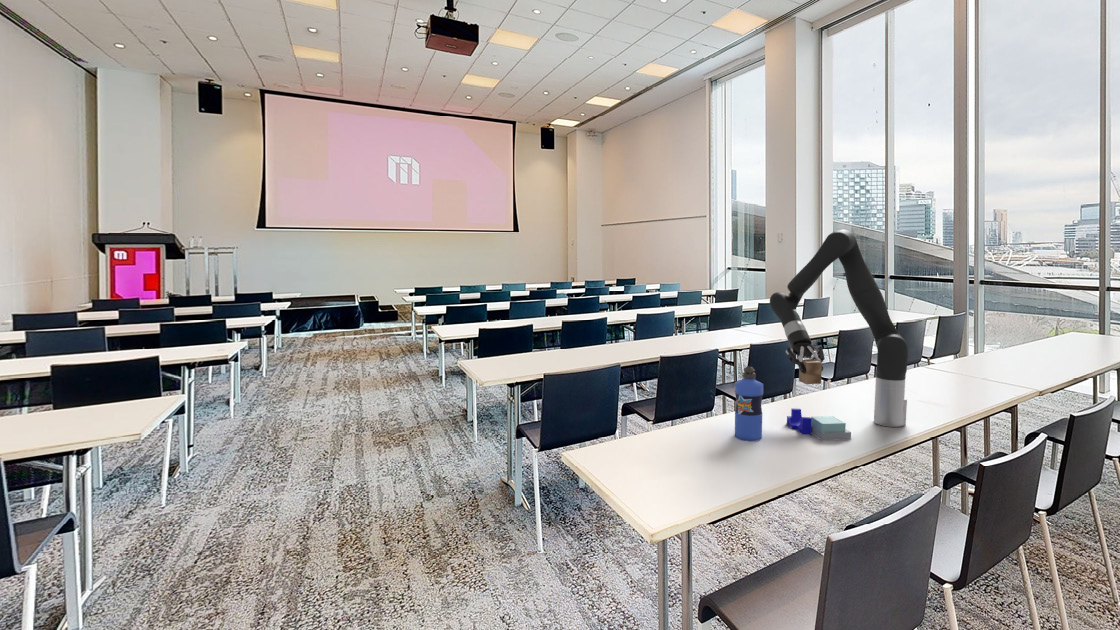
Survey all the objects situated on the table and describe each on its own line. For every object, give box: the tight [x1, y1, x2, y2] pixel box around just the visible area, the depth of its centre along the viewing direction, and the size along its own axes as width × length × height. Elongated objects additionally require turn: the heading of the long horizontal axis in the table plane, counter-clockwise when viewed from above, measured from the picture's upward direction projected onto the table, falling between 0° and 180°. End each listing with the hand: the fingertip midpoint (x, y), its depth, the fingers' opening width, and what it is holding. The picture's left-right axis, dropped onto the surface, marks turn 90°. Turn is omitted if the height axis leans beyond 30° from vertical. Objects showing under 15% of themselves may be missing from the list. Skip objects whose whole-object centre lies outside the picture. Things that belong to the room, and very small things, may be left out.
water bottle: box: [734, 365, 764, 442], centre depth 184 cm, size 9×9×25 cm
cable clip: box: [786, 407, 812, 436], centre depth 192 cm, size 12×4×6 cm, turn 174°
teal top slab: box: [810, 415, 847, 432], centre depth 185 cm, size 8×8×3 cm
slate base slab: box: [811, 425, 852, 441], centre depth 186 cm, size 10×10×3 cm
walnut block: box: [798, 358, 823, 385], centre depth 196 cm, size 6×6×8 cm
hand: (812, 371), depth 195 cm, fingers closed on walnut block, 5 cm apart
